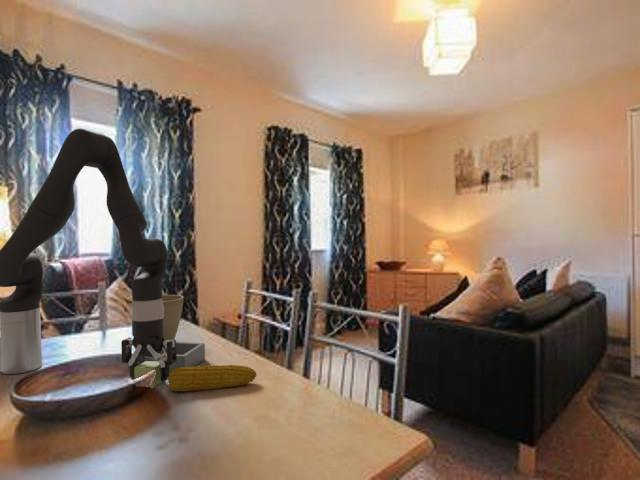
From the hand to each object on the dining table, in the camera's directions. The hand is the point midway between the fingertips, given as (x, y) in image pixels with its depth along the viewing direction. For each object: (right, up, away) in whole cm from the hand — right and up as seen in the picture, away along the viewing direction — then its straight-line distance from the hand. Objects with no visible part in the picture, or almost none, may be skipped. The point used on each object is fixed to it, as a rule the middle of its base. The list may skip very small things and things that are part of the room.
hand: (149, 379), depth 101 cm
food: (+17, -1, -3) cm, 17 cm away
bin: (+2, 0, +13) cm, 13 cm away
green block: (0, -1, 0) cm, 1 cm away
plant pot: (-11, 0, +34) cm, 36 cm away
